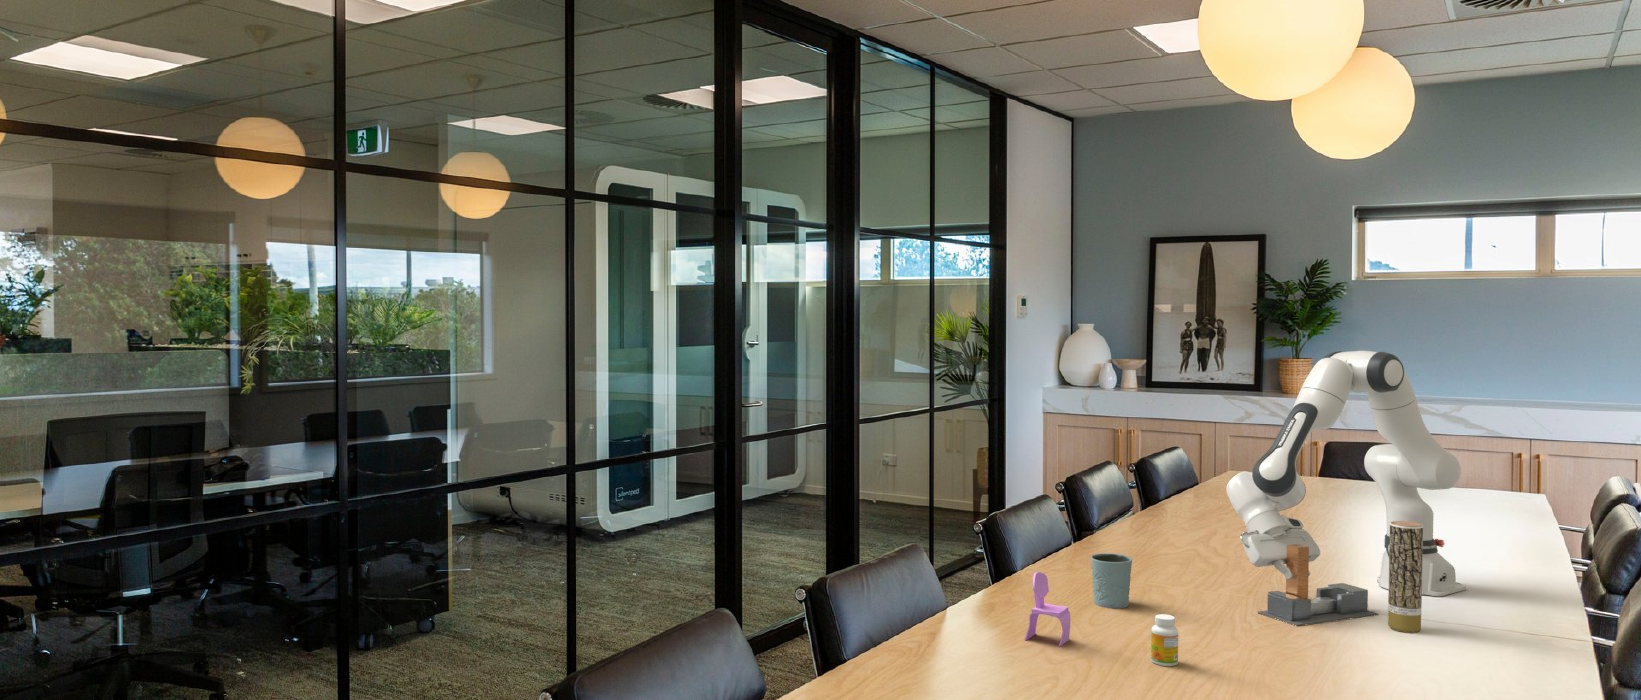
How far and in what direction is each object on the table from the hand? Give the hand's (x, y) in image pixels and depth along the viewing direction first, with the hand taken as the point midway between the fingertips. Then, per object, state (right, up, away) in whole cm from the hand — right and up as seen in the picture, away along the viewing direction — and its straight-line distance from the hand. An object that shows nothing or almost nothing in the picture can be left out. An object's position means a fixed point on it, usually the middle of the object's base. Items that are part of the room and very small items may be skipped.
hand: (1299, 577), depth 251 cm
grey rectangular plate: (+6, -10, +3) cm, 12 cm away
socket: (-3, -10, 0) cm, 10 cm away
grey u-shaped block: (+14, -10, +6) cm, 18 cm away
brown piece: (+3, -9, +2) cm, 10 cm away
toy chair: (-66, -10, -20) cm, 69 cm away
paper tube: (+21, -11, -9) cm, 25 cm away
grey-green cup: (-43, -10, +11) cm, 45 cm away
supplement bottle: (-45, -11, -35) cm, 57 cm away
